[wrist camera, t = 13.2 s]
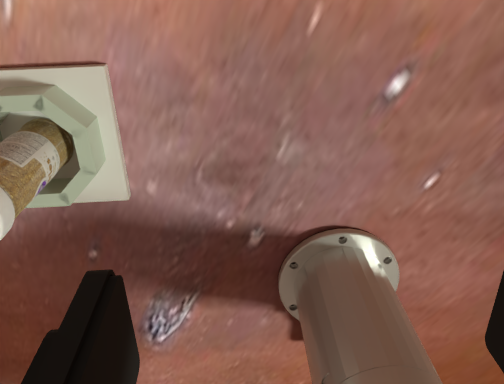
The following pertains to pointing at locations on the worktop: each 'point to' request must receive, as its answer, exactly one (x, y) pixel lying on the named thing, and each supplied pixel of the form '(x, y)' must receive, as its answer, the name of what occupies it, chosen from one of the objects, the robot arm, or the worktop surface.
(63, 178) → the bottle collar
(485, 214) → the worktop surface
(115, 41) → the worktop surface
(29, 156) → the sprinkles bottle
